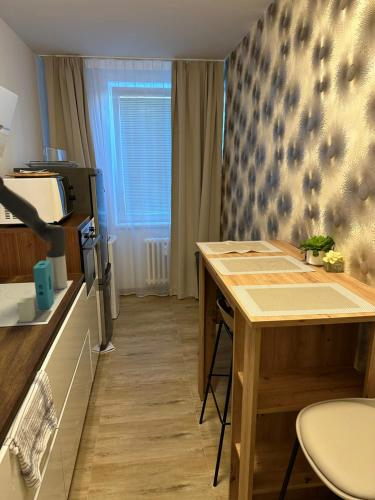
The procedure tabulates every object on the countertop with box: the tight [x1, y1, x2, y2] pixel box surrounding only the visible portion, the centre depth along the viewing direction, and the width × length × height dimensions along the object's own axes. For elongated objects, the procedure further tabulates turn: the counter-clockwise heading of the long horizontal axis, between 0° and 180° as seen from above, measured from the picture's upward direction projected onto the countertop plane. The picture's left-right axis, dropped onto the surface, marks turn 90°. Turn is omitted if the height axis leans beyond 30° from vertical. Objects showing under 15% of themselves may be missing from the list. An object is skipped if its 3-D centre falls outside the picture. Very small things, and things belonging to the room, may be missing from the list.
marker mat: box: [16, 309, 53, 324], centre depth 150 cm, size 11×12×1 cm
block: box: [32, 260, 55, 311], centre depth 159 cm, size 12×5×20 cm, turn 8°
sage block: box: [16, 297, 36, 323], centre depth 146 cm, size 5×5×8 cm
